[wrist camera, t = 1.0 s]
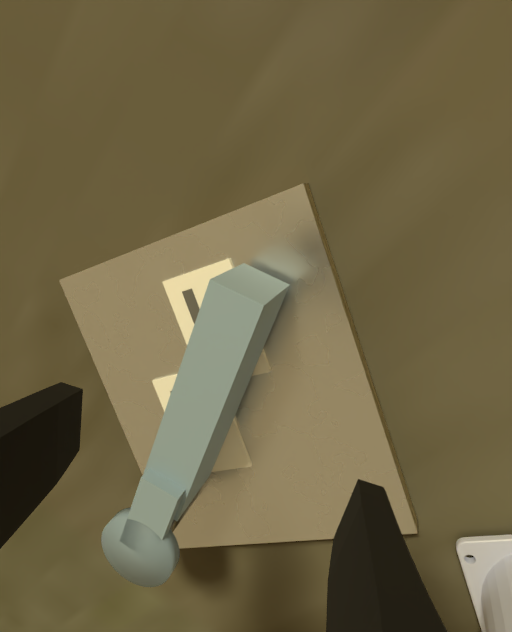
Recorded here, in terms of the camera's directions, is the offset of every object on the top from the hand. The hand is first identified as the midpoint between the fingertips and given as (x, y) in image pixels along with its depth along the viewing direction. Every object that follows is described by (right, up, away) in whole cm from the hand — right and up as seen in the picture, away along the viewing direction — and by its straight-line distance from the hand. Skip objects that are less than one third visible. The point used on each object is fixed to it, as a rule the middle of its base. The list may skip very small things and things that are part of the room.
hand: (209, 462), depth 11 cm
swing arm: (-1, -1, +13) cm, 13 cm away
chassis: (0, -1, +14) cm, 14 cm away
